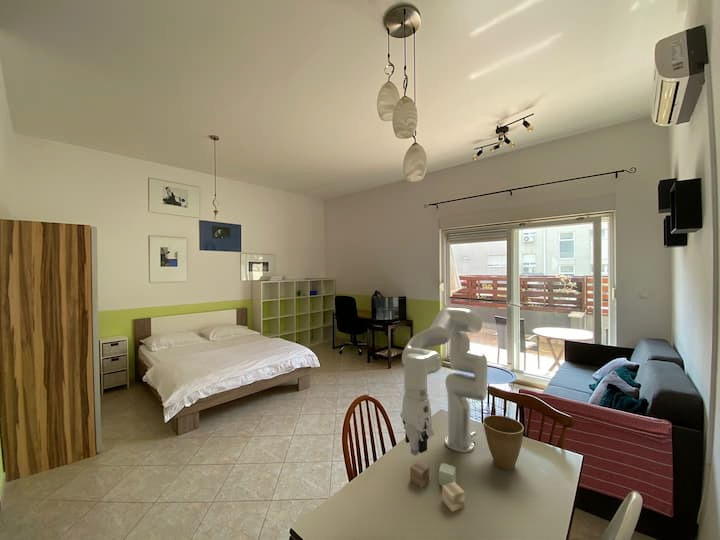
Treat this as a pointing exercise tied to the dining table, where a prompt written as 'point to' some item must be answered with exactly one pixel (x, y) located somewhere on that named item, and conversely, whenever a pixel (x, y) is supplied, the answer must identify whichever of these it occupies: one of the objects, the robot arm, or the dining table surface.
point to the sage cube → (447, 474)
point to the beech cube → (453, 496)
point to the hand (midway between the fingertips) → (416, 445)
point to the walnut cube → (419, 473)
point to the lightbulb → (413, 439)
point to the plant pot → (503, 439)
